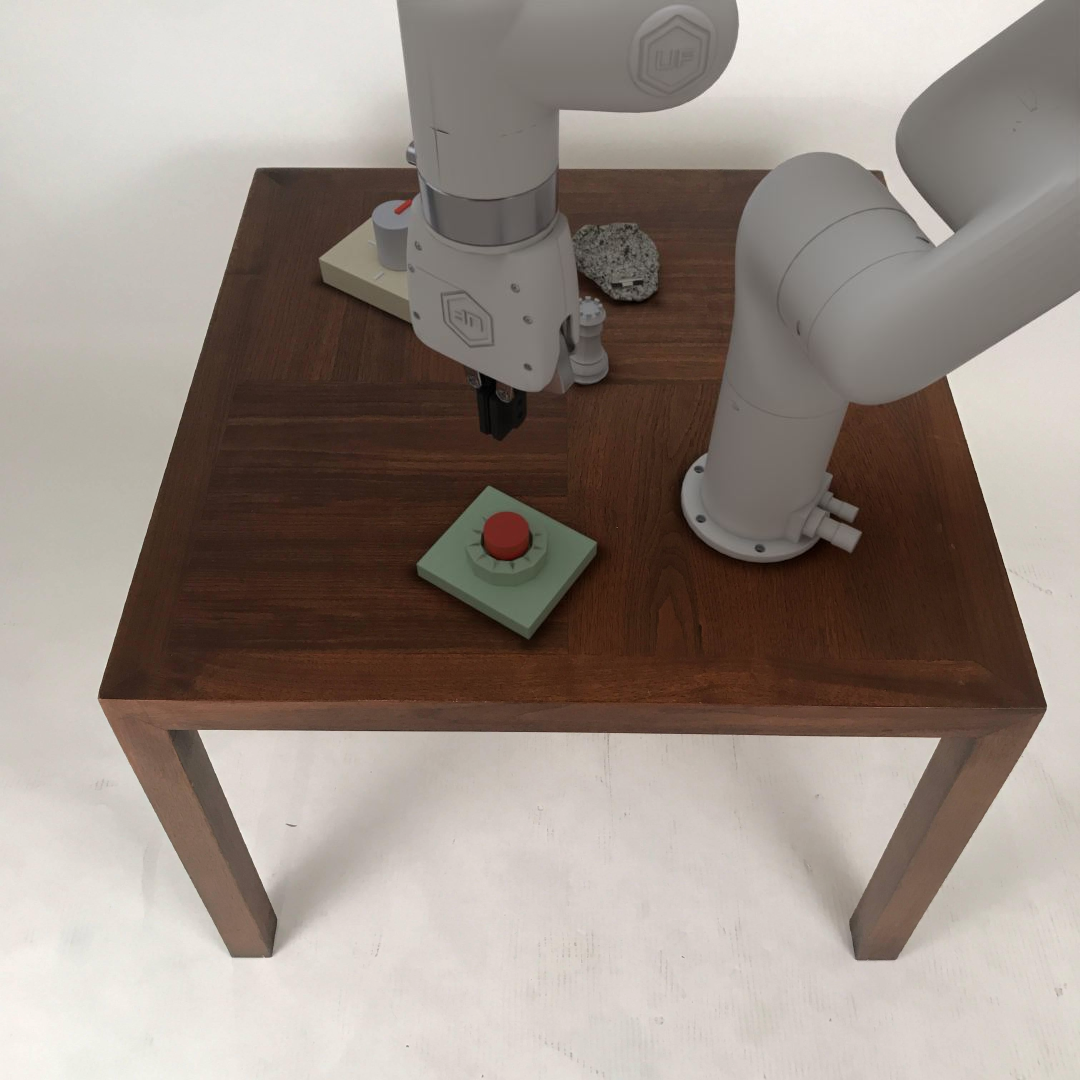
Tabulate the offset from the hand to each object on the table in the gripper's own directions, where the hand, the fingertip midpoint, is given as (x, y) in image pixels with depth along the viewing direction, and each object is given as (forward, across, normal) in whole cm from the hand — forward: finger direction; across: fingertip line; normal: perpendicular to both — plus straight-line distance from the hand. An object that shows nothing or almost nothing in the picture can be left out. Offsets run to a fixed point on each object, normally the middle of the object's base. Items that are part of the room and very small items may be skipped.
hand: (503, 424), depth 68 cm
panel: (+17, -30, +24) cm, 42 cm away
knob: (+14, -30, +24) cm, 41 cm away
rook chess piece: (+17, -7, +23) cm, 29 cm away
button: (+14, 0, 0) cm, 14 cm away
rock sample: (+17, -11, +37) cm, 42 cm away
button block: (+17, 0, 0) cm, 17 cm away
